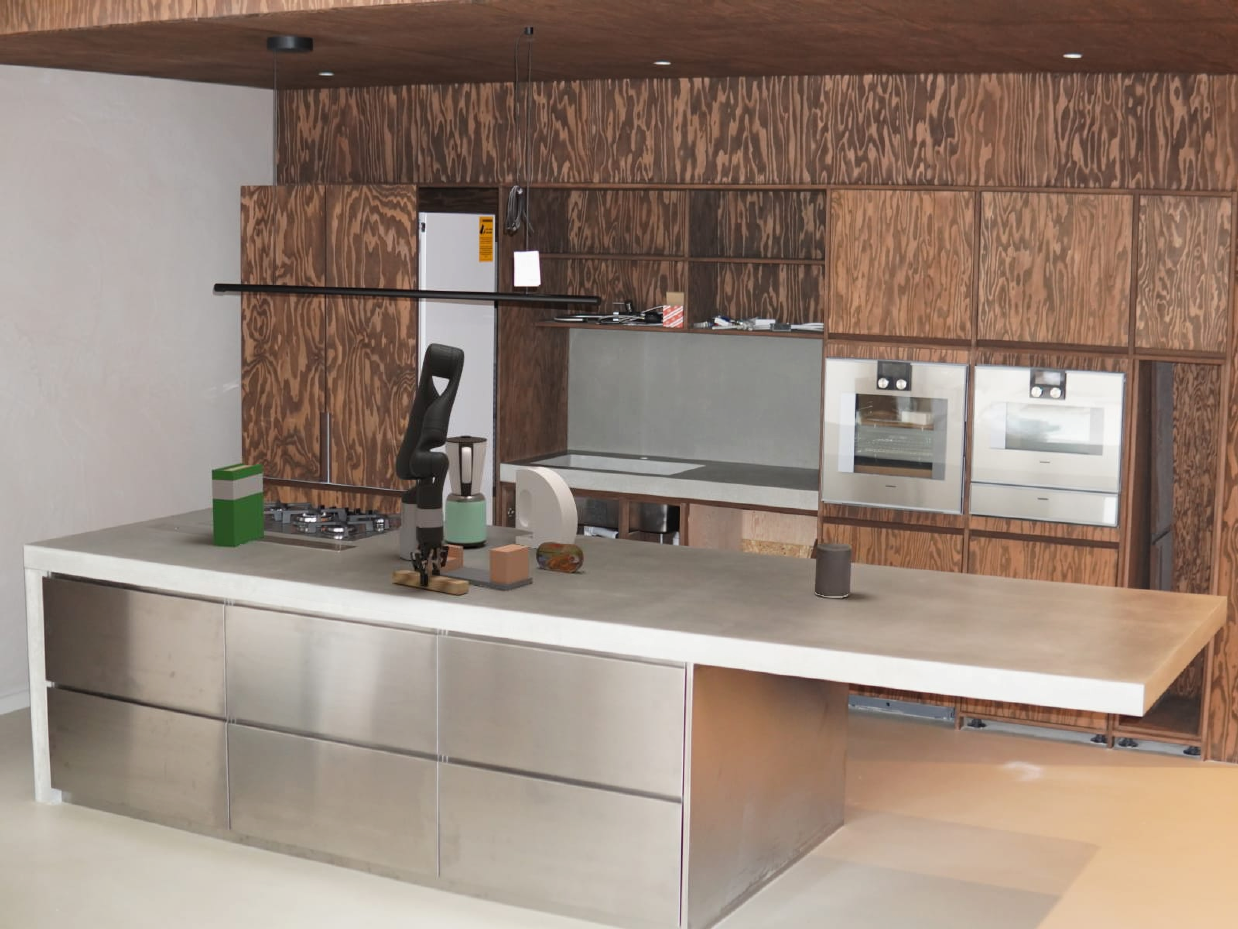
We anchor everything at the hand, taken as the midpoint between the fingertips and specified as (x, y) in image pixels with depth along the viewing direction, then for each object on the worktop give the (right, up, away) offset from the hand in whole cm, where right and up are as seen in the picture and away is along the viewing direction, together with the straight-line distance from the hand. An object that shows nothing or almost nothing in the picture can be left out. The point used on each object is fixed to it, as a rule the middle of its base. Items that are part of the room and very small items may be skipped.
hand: (430, 584), depth 388 cm
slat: (0, -1, 0) cm, 1 cm away
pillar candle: (+111, -3, -1) cm, 111 cm away
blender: (+4, +7, +59) cm, 59 cm away
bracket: (+29, +6, +57) cm, 65 cm away
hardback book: (-69, +8, +61) cm, 93 cm away
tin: (+35, +2, +25) cm, 43 cm away
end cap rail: (+12, +1, +12) cm, 16 cm away
